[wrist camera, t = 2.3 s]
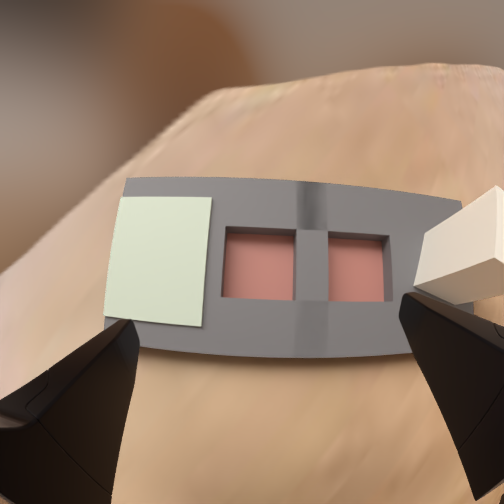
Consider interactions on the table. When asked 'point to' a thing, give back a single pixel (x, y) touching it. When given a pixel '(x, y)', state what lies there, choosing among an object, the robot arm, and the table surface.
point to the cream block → (466, 253)
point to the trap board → (268, 265)
